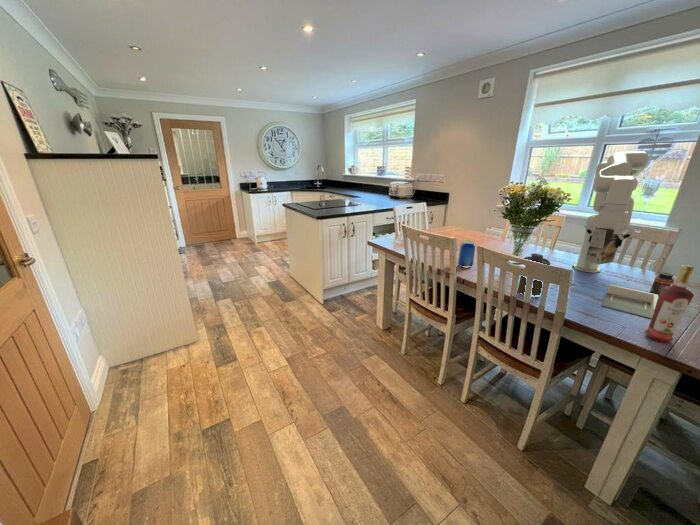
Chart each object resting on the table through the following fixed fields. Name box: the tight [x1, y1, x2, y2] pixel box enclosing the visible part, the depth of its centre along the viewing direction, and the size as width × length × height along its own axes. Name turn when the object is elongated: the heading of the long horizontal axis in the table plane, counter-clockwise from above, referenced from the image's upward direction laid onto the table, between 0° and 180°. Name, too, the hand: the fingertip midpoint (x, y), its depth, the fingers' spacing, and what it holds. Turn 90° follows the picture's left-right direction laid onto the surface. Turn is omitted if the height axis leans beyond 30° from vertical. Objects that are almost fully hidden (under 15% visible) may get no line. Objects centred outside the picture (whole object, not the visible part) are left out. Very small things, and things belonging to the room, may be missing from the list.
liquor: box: [644, 264, 695, 343], centre depth 94 cm, size 7×7×28 cm
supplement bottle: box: [649, 271, 675, 297], centre depth 126 cm, size 6×6×11 cm
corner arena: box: [601, 284, 658, 320], centre depth 121 cm, size 18×16×4 cm
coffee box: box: [585, 228, 619, 265], centre depth 125 cm, size 9×6×16 cm
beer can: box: [457, 239, 476, 267], centre depth 167 cm, size 8×8×16 cm
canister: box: [517, 253, 551, 296], centre depth 131 cm, size 11×10×20 cm
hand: (603, 245), depth 125 cm, fingers closed on coffee box, 8 cm apart
